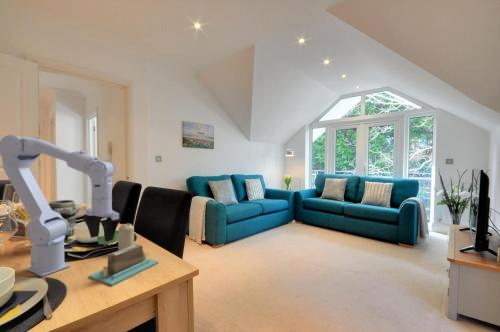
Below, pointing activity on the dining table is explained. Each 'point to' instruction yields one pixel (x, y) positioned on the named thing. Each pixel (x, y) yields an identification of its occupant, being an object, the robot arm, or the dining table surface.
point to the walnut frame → (124, 259)
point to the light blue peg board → (123, 272)
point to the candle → (125, 236)
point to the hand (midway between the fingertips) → (101, 238)
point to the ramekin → (102, 241)
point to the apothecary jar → (66, 214)
